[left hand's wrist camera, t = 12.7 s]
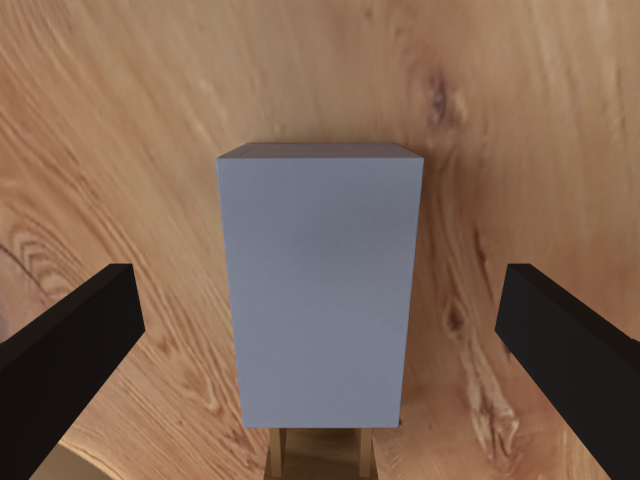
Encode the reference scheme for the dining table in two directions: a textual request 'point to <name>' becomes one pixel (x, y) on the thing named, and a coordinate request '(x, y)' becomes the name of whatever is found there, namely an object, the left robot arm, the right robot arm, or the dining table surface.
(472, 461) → the dining table surface
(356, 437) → the drawer
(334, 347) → the cabinet
